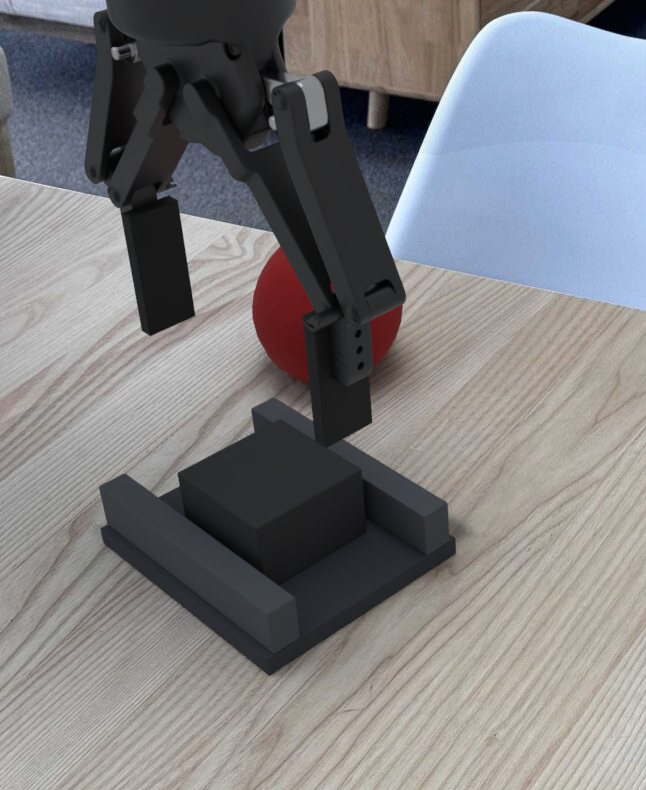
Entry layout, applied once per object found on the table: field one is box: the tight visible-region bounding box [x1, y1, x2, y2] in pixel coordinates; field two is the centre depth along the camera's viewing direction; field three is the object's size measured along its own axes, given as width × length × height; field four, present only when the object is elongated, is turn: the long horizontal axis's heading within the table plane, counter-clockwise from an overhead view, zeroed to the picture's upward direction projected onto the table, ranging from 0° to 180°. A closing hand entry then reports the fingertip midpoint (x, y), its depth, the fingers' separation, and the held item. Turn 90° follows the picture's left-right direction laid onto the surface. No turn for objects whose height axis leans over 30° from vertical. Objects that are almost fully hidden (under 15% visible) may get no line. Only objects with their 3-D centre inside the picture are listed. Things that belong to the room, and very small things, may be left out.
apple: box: [251, 245, 404, 384], centre depth 84 cm, size 9×9×10 cm
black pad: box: [177, 419, 367, 585], centre depth 70 cm, size 6×6×4 cm
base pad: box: [98, 397, 457, 676], centre depth 71 cm, size 14×12×4 cm
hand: (251, 375), depth 67 cm, fingers open, 13 cm apart
